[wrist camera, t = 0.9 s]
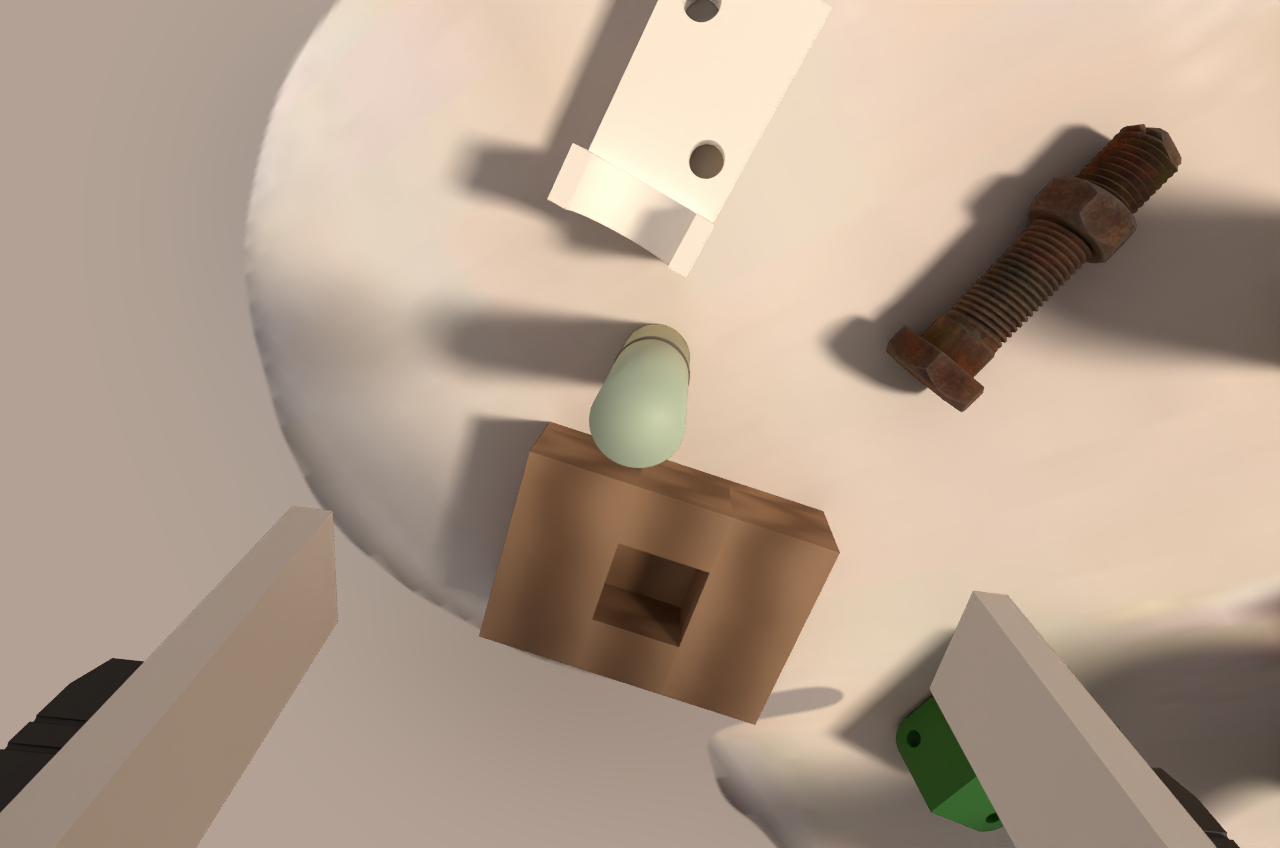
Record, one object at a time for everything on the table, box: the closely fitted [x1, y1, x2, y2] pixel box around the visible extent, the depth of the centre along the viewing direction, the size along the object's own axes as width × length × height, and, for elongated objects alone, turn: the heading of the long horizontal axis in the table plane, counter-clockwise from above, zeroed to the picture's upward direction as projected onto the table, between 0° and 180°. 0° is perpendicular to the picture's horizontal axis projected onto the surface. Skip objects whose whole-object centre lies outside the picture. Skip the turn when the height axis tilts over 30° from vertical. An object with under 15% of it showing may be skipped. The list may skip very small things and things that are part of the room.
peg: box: [589, 324, 690, 468], centre depth 32 cm, size 4×4×12 cm
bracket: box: [547, 0, 832, 277], centre depth 30 cm, size 13×7×8 cm, turn 152°
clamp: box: [896, 696, 1120, 832], centre depth 41 cm, size 12×6×9 cm, turn 138°
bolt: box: [886, 124, 1181, 412], centre depth 32 cm, size 6×5×15 cm
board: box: [479, 422, 840, 725], centre depth 39 cm, size 18×13×5 cm
